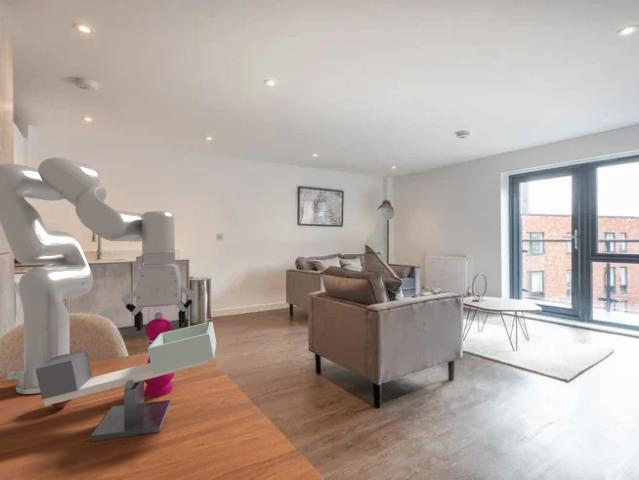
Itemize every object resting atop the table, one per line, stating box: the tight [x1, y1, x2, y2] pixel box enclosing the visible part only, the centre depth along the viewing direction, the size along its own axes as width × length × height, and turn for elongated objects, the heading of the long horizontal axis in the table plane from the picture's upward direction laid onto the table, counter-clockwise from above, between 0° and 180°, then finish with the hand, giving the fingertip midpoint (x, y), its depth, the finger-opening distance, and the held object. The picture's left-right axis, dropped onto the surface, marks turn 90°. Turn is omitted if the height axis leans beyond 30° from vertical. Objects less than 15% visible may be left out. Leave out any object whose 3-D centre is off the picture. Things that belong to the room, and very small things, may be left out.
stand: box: [90, 380, 171, 442], centre depth 71 cm, size 12×12×8 cm
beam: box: [36, 321, 217, 407], centre depth 71 cm, size 32×12×8 cm, turn 105°
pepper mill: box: [144, 312, 175, 398], centre depth 85 cm, size 7×7×20 cm
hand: (160, 327), depth 85 cm, fingers open, 9 cm apart
